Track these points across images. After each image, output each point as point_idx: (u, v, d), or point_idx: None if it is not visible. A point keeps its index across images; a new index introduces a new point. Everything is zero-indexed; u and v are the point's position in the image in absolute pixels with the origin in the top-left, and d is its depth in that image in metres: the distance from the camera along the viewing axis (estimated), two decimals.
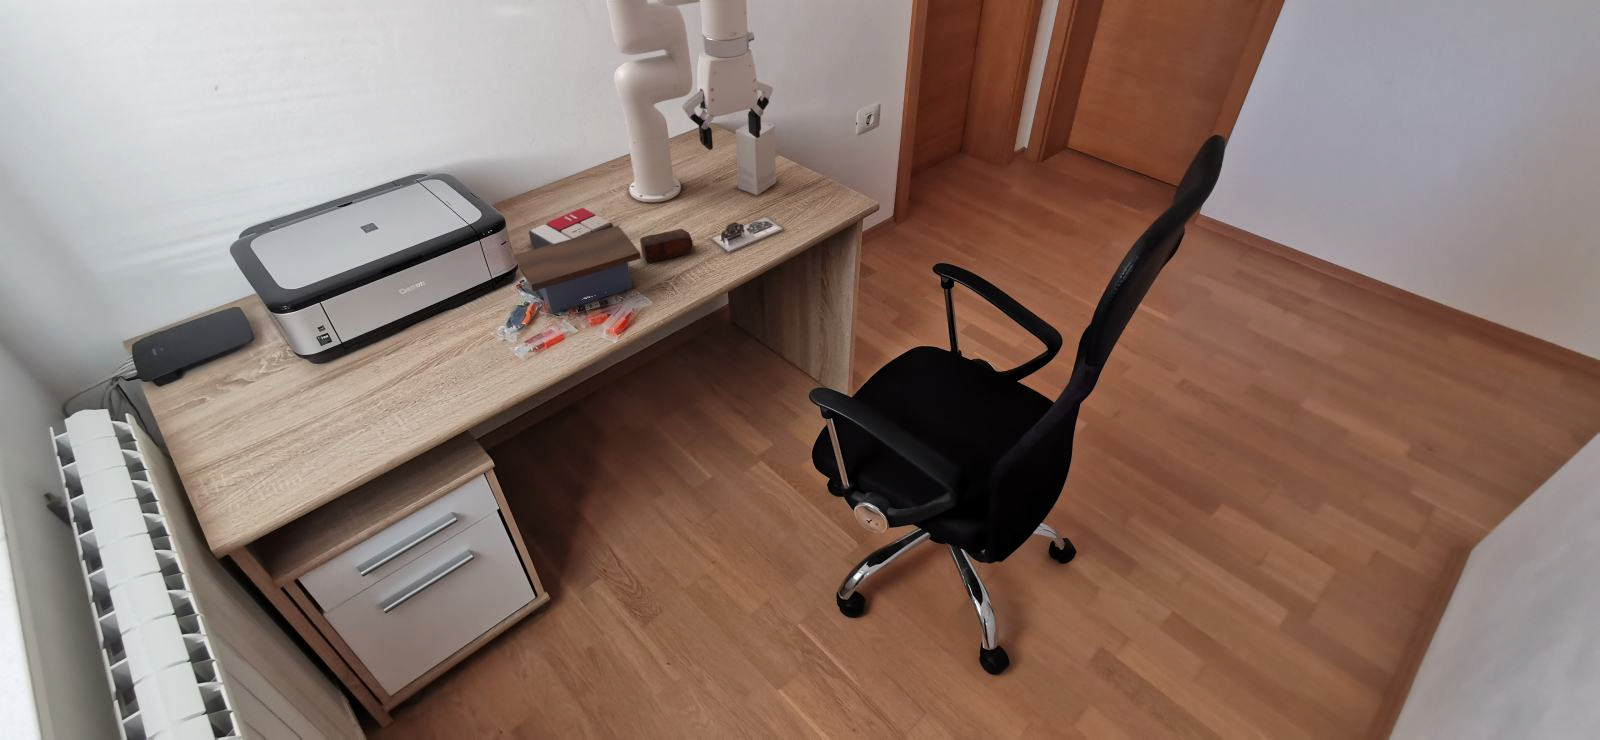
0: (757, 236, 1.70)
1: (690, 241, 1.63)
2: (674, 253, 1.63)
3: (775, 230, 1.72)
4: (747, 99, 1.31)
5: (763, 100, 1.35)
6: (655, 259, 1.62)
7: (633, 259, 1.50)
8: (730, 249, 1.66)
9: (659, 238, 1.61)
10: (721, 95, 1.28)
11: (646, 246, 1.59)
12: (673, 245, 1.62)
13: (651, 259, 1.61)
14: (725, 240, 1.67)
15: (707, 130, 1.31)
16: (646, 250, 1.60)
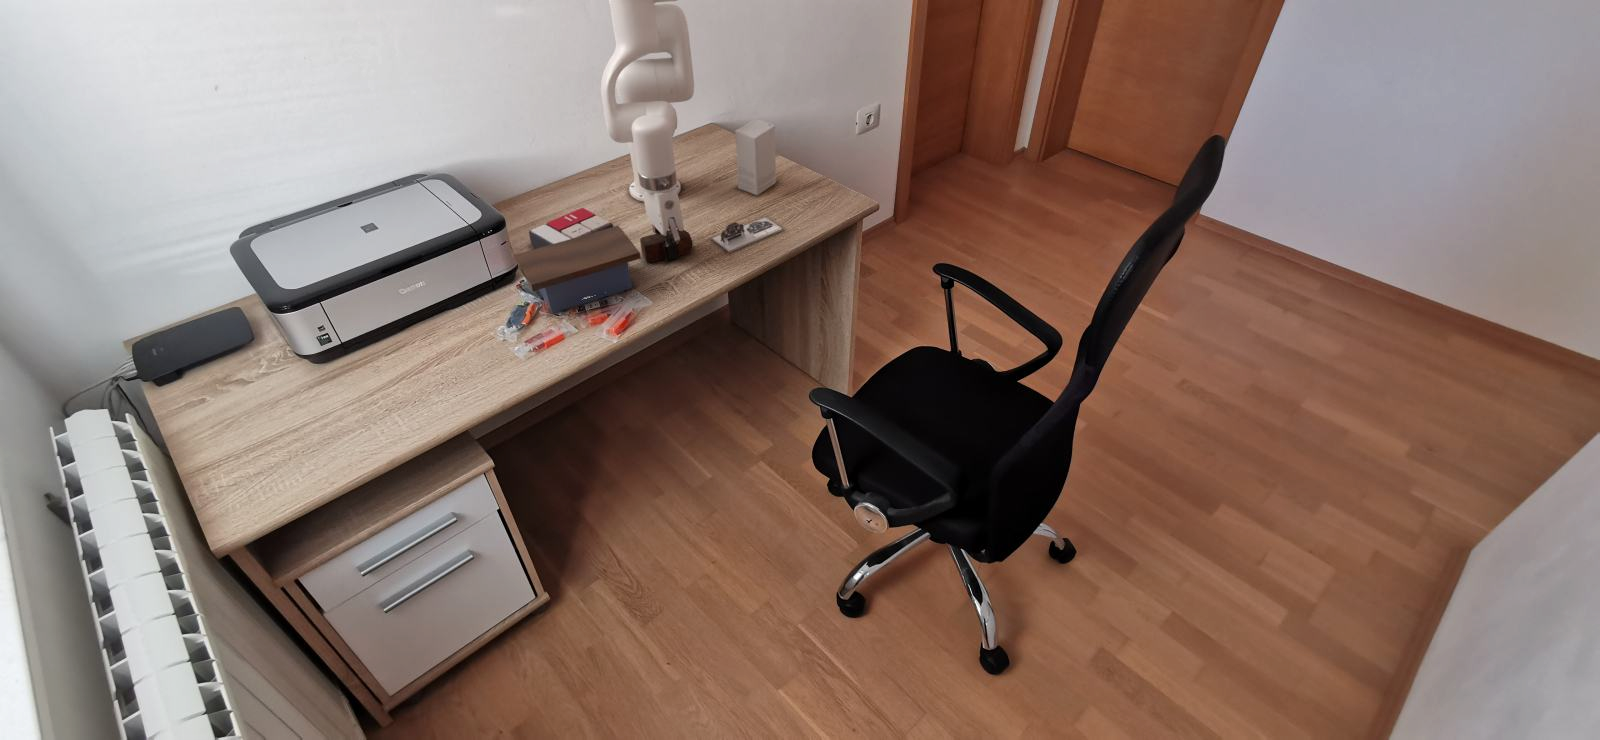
0: (757, 236, 1.70)
1: (690, 241, 1.63)
2: None
3: (775, 230, 1.72)
4: (658, 225, 1.56)
5: (669, 238, 1.57)
6: (655, 259, 1.62)
7: (633, 259, 1.50)
8: (730, 249, 1.66)
9: (658, 238, 1.61)
10: (647, 207, 1.58)
11: (646, 246, 1.59)
12: None
13: (650, 259, 1.61)
14: (725, 240, 1.67)
15: None
16: (646, 250, 1.60)
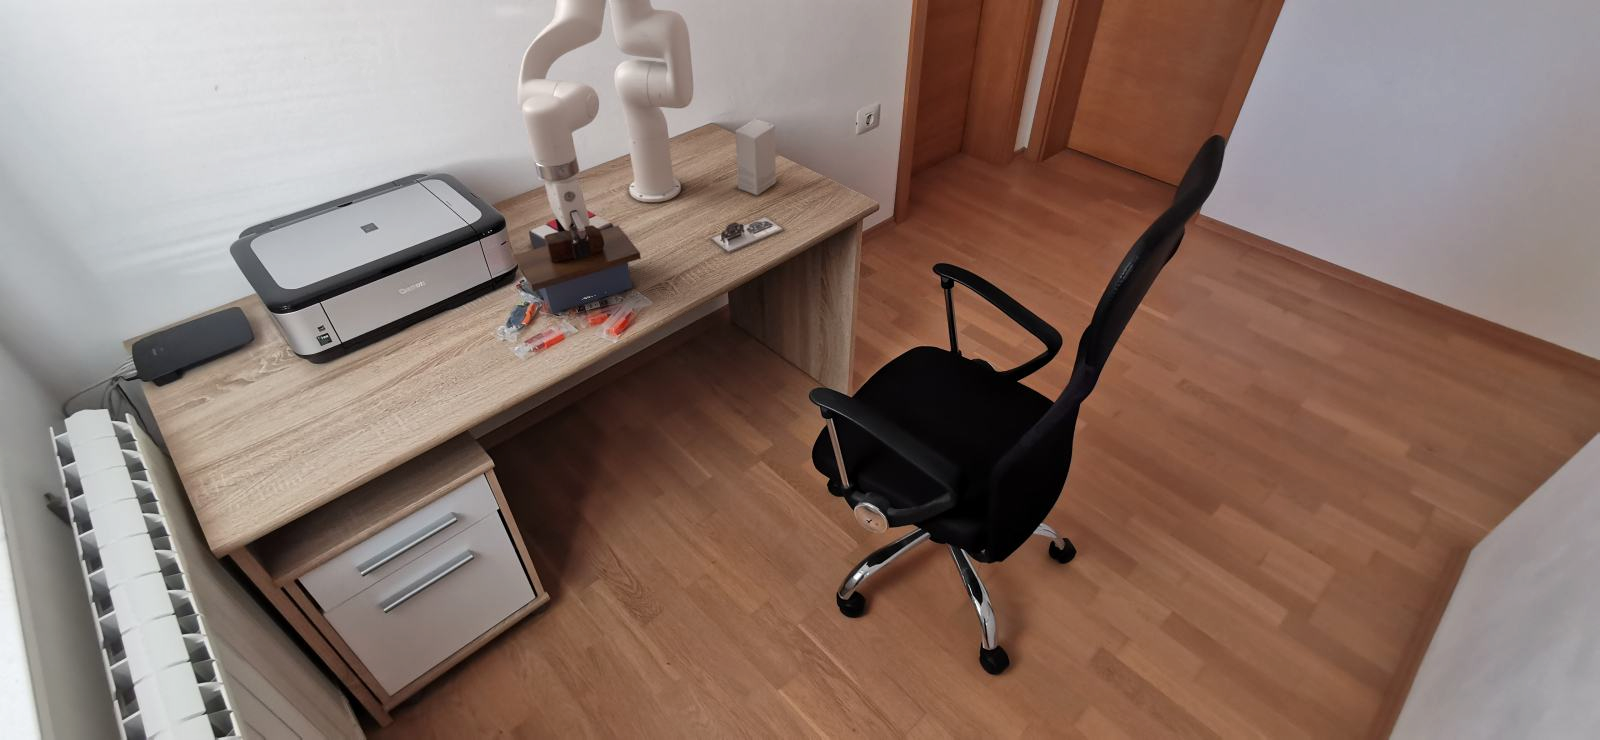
0: (757, 236, 1.70)
1: (601, 239, 1.48)
2: None
3: (775, 230, 1.72)
4: (560, 219, 1.40)
5: (576, 234, 1.39)
6: (561, 259, 1.47)
7: (633, 259, 1.50)
8: (730, 249, 1.66)
9: (565, 235, 1.46)
10: (549, 199, 1.42)
11: (550, 244, 1.44)
12: None
13: (556, 258, 1.46)
14: (725, 240, 1.67)
15: None
16: (550, 249, 1.44)
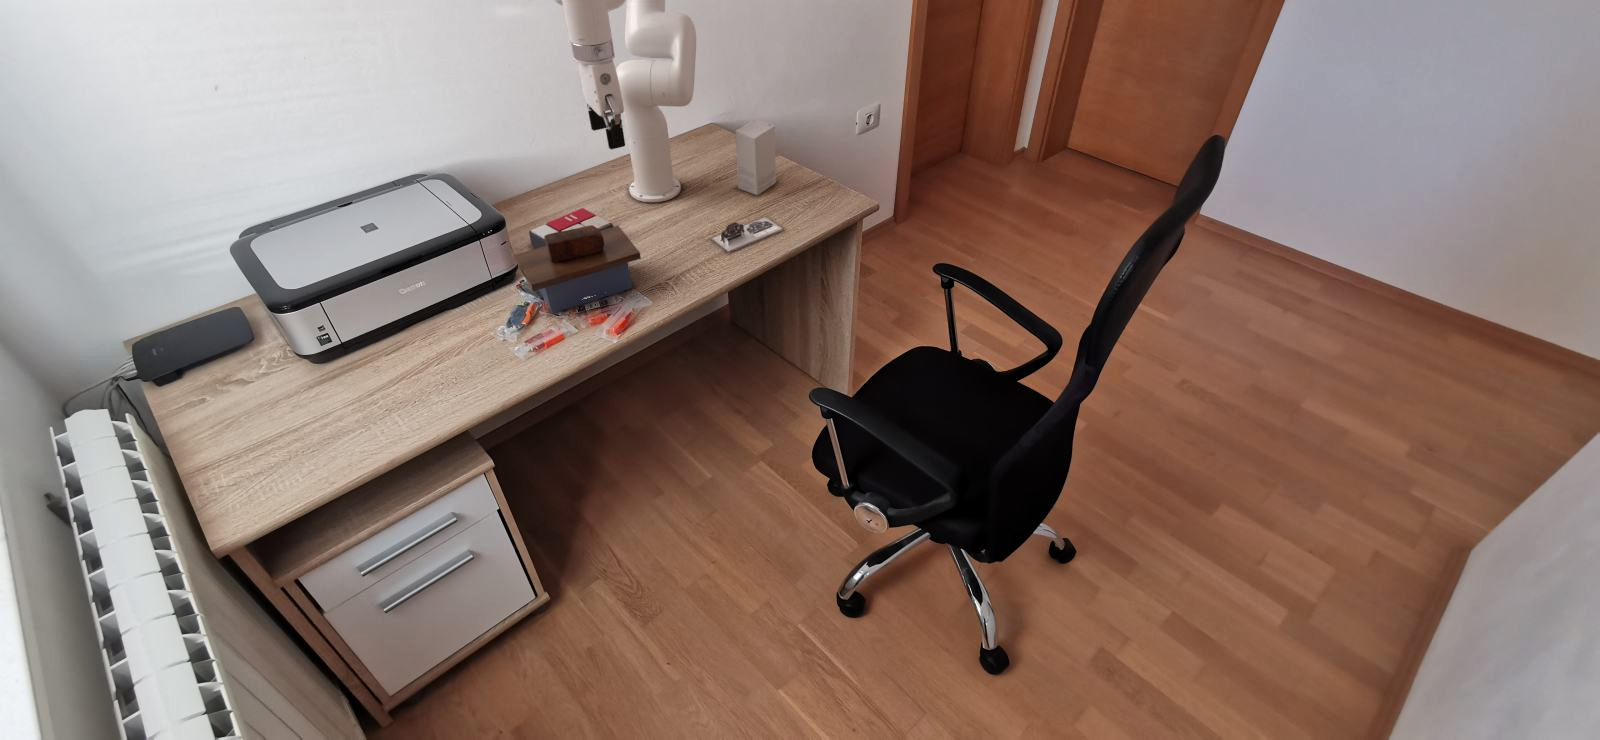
0: (757, 236, 1.70)
1: (601, 239, 1.48)
2: (583, 252, 1.48)
3: (775, 230, 1.72)
4: (594, 105, 1.40)
5: (611, 119, 1.39)
6: (561, 259, 1.47)
7: (633, 259, 1.50)
8: (730, 249, 1.66)
9: (565, 235, 1.46)
10: (583, 86, 1.42)
11: (550, 244, 1.44)
12: (581, 243, 1.46)
13: (556, 258, 1.46)
14: (725, 240, 1.67)
15: None
16: (550, 249, 1.44)
